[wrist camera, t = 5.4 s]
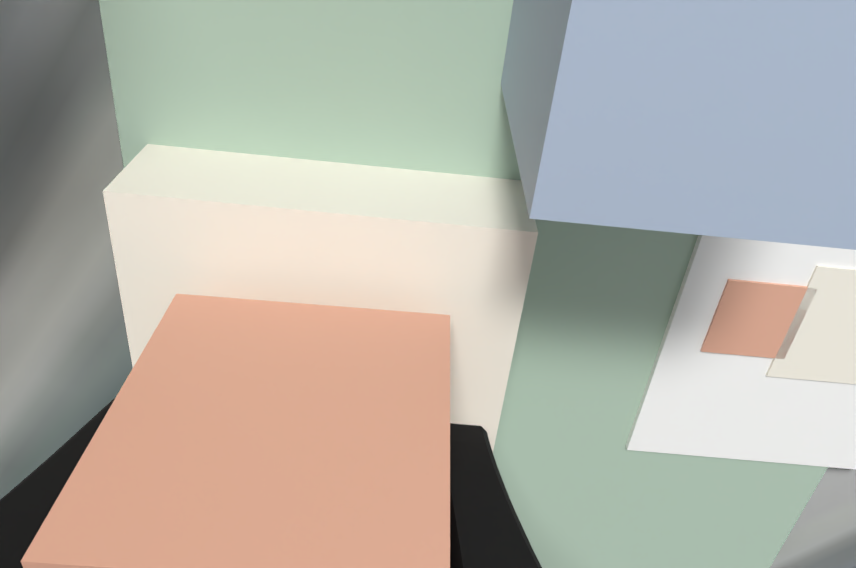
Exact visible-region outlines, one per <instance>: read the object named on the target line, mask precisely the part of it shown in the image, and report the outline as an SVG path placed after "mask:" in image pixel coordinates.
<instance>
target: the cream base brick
mask: <svg viewBox="0 0 856 568" xmlns="http://www.w3.org/2000/svg"><path fill="white" fill-rule="evenodd" d="M103 196H104V202H105V208H106V213H107V219H108V225H109V231H110V237H111V243H112V249H113V254H114V260H115V266H116V272H117V278H118V284H119V290H120V295H121V301H122V307H123V313H124V319H125V325H126V331H127V337H128V342H129V348H130V354H131V360H132V366H133V367H134V365H135V364H136V362H137V360H138V359H139V357H140V355H141V353H142V352H143V350H144V348H145V346H146V345H147V343H148V341H149V340H150V338H151V336H152V334H153V333H154V331H155V329H156V328H157V326H158V324H159V322H160V321H161V319H162V317H163V316H164V314H165V312H166V310H167V309H168V307H169V305H170V303H171V302H172V300H173V298H174V297H175V295H176V294H188V295H201V296H213V297H226V298H239V299H252V300H265V301H277V302H290V303H303V304H316V305H329V306H341V307H354V308H367V309H380V310H393V311H405V312H418V313H431V314H444V315H450V423H453V424H465V425H476V426H482V427H483V428H484V429H485V430H486V431H487V434H488V438H489V442H490V445H491V449H492V452H493V450H494V445H495V440H496V435H497V430H498V426H499V421H500V416H501V411H502V406H503V401H504V396H505V392H506V387H507V382H508V377H509V372H510V367H511V362H512V358H513V353H514V348H515V343H516V338H517V333H518V328H519V324H520V319H521V314H522V309H523V304H524V299H525V294H526V290H527V285H528V280H529V275H530V270H531V265H532V260H533V256H534V251H535V246H536V241H537V236H538V229H537V225H536V221H535V219H529V214H528V210H527V205H526V200H525V195H524V191H523V186H522V181H521V180H512V179H502V178H492V177H482V176H471V175H461V174H451V173H441V172H431V171H420V170H410V169H400V168H390V167H379V166H369V165H359V164H349V163H338V162H328V161H318V160H308V159H297V158H287V157H277V156H267V155H256V154H246V153H236V152H226V151H215V150H205V149H195V148H185V147H175V146H164V145H154V144H147V145H146V146H145V147H144V148H143V149H142V150H141V151H140V152H139V153H138V154H137V155H136V156H135V157H134V159H133V160H132V161H131V162H130V163H129V164H128V165H127V166H126V167H125V168H124V169H123V170H122V171H121V172H120V173H119V174H118V175H117V176H116V178H115V179H114V180H113V181H112V182H111V183H110V184H109V185H108V186H107V187H106V188H105V189H104V190H103Z"/></svg>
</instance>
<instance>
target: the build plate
mask: <svg viewBox="0 0 856 568" xmlns="http://www.w3.org/2000/svg"><path fill="white" fill-rule="evenodd" d="M99 6H100V12H101V19H102V26H103V32H104V39H105V46H106V52H107V59H108V66H109V72H110V79H111V86H112V92H113V99H114V106H115V112H116V119H117V126H118V132H119V139H120V146H121V152H122V159H123V166H124V168H125V167H126V166H127V165H128V164H129V163H130V162H131V161H132V160H133V159H134V157H135V156H136V155H137V154H138V153H139V152H140V151H141V150H142V149H143V148H144V147H145V146H146V145H147V144H154V145H164V146H175V147H185V148H195V149H205V150H215V151H226V152H236V153H246V154H256V155H267V156H277V157H287V158H297V159H308V160H318V161H328V162H338V163H349V164H359V165H369V166H379V167H390V168H400V169H410V170H420V171H431V172H441V173H451V174H461V175H471V176H482V177H492V178H502V179H512V180H521V177H520V172H519V167H518V163H517V158H516V153H515V148H514V144H513V139H512V134H511V130H510V125H509V120H508V116H507V111H506V106H505V102H504V97H503V92H502V87H501V79H502V72H503V66H504V59H505V53H506V46H507V40H508V33H509V27H510V20H511V14H512V7H513V0H99ZM535 221H536V225H537V229H538V236H537V241H536V246H535V251H534V256H533V260H532V265H531V270H530V275H529V280H528V285H527V290H526V294H525V299H524V304H523V309H522V314H521V319H520V324H519V328H518V333H517V338H516V343H515V348H514V353H513V358H512V362H511V367H510V372H509V377H508V382H507V387H506V392H505V396H504V401H503V406H502V411H501V416H500V421H499V426H498V430H497V435H496V440H495V445H494V450H493V455H494V458H495V461H496V464H497V467H498V469H499V472H500V475H501V478H502V480H503V483H504V485H505V488H506V490H507V493H508V495H509V498H510V500H511V502H512V505H513V507H514V509H515V512H516V514H517V516H518V518H519V521H520V523H521V525H522V527H523V529H524V531H525V534H526V536H527V538H528V540H529V542H530V544H531V547H532V549H533V551H534V553H535V555H536V557H537V559H538V561H539V563H540V565H541V567H542V568H770V566H771V565H772V563H773V561H774V559H775V558H776V556H777V554H778V553H779V551H780V549H781V547H782V546H783V544H784V542H785V540H786V539H787V537H788V535H789V534H790V532H791V530H792V528H793V527H794V525H795V523H796V521H797V520H798V518H799V516H800V515H801V513H802V511H803V509H804V508H805V506H806V504H807V503H808V501H809V499H810V497H811V496H812V494H813V492H814V490H815V489H816V487H817V485H818V484H819V482H820V480H821V478H822V477H823V475H824V473H825V471H826V470H827V468H828V467H821V466H810V465H798V464H786V463H775V462H763V461H751V460H739V459H728V458H716V457H704V456H692V455H681V454H669V453H657V452H645V451H634V450H627V448H626V442H627V439H628V436H629V433H630V431H631V428H632V425H633V422H634V419H635V416H636V413H637V410H638V408H639V405H640V402H641V399H642V396H643V393H644V390H645V387H646V385H647V382H648V379H649V376H650V373H651V370H652V367H653V364H654V362H655V359H656V356H657V353H658V350H659V347H660V344H661V341H662V338H663V336H664V333H665V330H666V327H667V324H668V321H669V318H670V315H671V313H672V310H673V307H674V304H675V301H676V298H677V295H678V292H679V290H680V287H681V284H682V281H683V278H684V275H685V272H686V269H687V266H688V264H689V261H690V258H691V255H692V252H693V249H694V246H695V243H696V241H697V238H698V235H695V234H685V233H674V232H664V231H653V230H643V229H633V228H622V227H612V226H601V225H591V224H580V223H570V222H560V221H549V220H539V219H535Z"/></svg>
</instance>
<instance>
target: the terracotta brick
mask: <svg viewBox="0 0 856 568" xmlns="http://www.w3.org/2000/svg"><path fill="white" fill-rule="evenodd" d="M21 564H22V566H23V568H450V315H444V314H431V313H418V312H405V311H393V310H380V309H367V308H354V307H341V306H329V305H316V304H303V303H290V302H277V301H265V300H252V299H239V298H226V297H213V296H201V295H188V294H176V295H175V297H174V298H173V300H172V302H171V303H170V305H169V307H168V309H167V310H166V312H165V314H164V316H163V317H162V319H161V321H160V322H159V324H158V326H157V328H156V329H155V331H154V333H153V334H152V336H151V338H150V340H149V341H148V343H147V345H146V346H145V348H144V350H143V352H142V353H141V355H140V357H139V359H138V360H137V362H136V364H135V365H134V367H133V369H132V371H131V372H130V374H129V376H128V377H127V379H126V381H125V383H124V384H123V386H122V388H121V389H120V391H119V393H118V395H117V396H116V398H115V400H114V402H113V403H112V405H111V407H110V408H109V410H108V412H107V414H106V415H105V417H104V419H103V420H102V422H101V424H100V426H99V427H98V429H97V431H96V433H95V434H94V436H93V438H92V439H91V441H90V443H89V445H88V446H87V448H86V450H85V451H84V453H83V455H82V457H81V458H80V460H79V462H78V463H77V465H76V467H75V469H74V470H73V472H72V474H71V476H70V477H69V479H68V481H67V482H66V484H65V486H64V488H63V489H62V491H61V493H60V494H59V496H58V498H57V500H56V501H55V503H54V505H53V506H52V508H51V510H50V512H49V513H48V515H47V517H46V519H45V520H44V522H43V524H42V525H41V527H40V529H39V531H38V532H37V534H36V536H35V537H34V539H33V541H32V543H31V544H30V546H29V548H28V549H27V551H26V553H25V555H24V556H23V558H22V560H21Z"/></svg>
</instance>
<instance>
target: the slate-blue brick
mask: <svg viewBox="0 0 856 568" xmlns="http://www.w3.org/2000/svg"><path fill="white" fill-rule="evenodd" d="M501 87H502V92H503V97H504V102H505V106H506V111H507V116H508V120H509V125H510V130H511V134H512V139H513V144H514V148H515V153H516V158H517V163H518V167H519V172H520V177H521V181H522V186H523V191H524V195H525V200H526V205H527V210H528V214H529V219H539V220H549V221H560V222H570V223H580V224H591V225H601V226H612V227H622V228H633V229H643V230H653V231H664V232H674V233H685V234H695V235H706V236H716V237H726V238H737V239H747V240H758V241H768V242H779V243H789V244H799V245H810V246H820V247H831V248H841V249H852V250H856V0H513V7H512V14H511V20H510V27H509V33H508V40H507V46H506V53H505V59H504V66H503V72H502V79H501Z"/></svg>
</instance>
